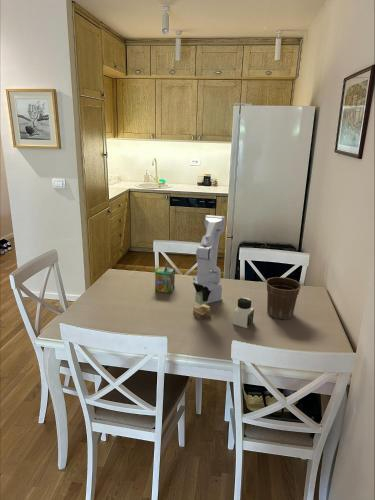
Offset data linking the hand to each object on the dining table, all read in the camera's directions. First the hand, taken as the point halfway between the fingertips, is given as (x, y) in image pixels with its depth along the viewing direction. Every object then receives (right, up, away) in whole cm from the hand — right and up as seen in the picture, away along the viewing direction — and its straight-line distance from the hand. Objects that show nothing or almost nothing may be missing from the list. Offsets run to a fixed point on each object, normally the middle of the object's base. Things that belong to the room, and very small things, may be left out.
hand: (202, 298), depth 171 cm
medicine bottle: (+19, -11, -3) cm, 22 cm away
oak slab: (0, -6, +2) cm, 7 cm away
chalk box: (-19, +1, +31) cm, 36 cm away
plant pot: (+38, -8, +7) cm, 39 cm away
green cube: (0, -2, 0) cm, 2 cm away
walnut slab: (0, -9, +3) cm, 9 cm away
